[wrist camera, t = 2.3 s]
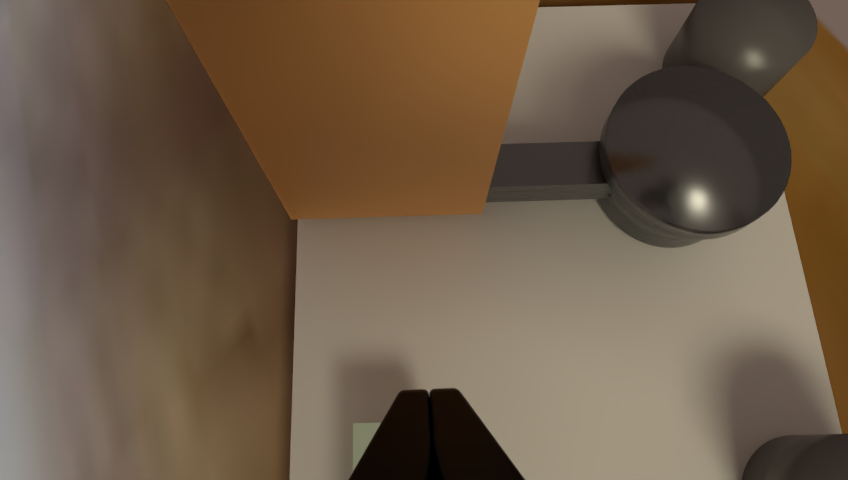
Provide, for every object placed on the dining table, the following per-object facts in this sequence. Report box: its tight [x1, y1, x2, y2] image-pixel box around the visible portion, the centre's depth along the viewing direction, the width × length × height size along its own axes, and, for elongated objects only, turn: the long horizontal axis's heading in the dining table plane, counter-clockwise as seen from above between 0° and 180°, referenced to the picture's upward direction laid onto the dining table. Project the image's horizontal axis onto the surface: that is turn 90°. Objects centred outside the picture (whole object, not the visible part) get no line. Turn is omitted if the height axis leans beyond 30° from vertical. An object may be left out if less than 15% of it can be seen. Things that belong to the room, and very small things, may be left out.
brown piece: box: [166, 0, 791, 248], centre depth 15 cm, size 15×5×10 cm, turn 92°
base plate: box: [289, 0, 848, 480], centre depth 18 cm, size 22×16×4 cm
